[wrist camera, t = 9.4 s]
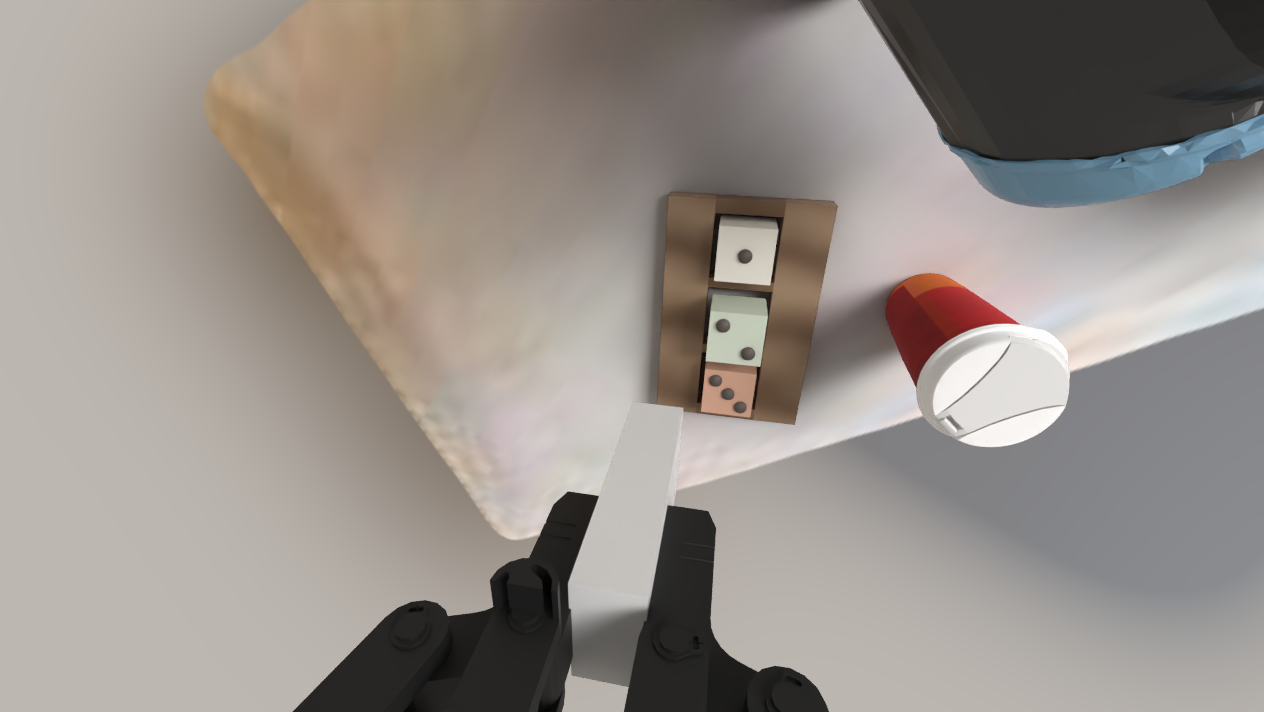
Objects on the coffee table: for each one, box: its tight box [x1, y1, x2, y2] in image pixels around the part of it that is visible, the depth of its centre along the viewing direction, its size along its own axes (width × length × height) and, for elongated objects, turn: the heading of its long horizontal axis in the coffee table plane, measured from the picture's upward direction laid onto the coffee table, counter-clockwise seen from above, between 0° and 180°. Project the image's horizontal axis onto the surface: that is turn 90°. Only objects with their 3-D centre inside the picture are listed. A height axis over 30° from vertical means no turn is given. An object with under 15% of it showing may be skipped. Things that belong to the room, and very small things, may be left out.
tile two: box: [706, 294, 768, 367], centre depth 44 cm, size 4×4×4 cm
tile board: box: [657, 192, 838, 425], centre depth 47 cm, size 20×13×2 cm, turn 178°
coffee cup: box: [886, 273, 1070, 447], centre depth 38 cm, size 8×8×15 cm
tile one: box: [714, 215, 778, 285], centre depth 43 cm, size 4×4×4 cm
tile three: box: [701, 361, 757, 418], centre depth 48 cm, size 4×4×4 cm
